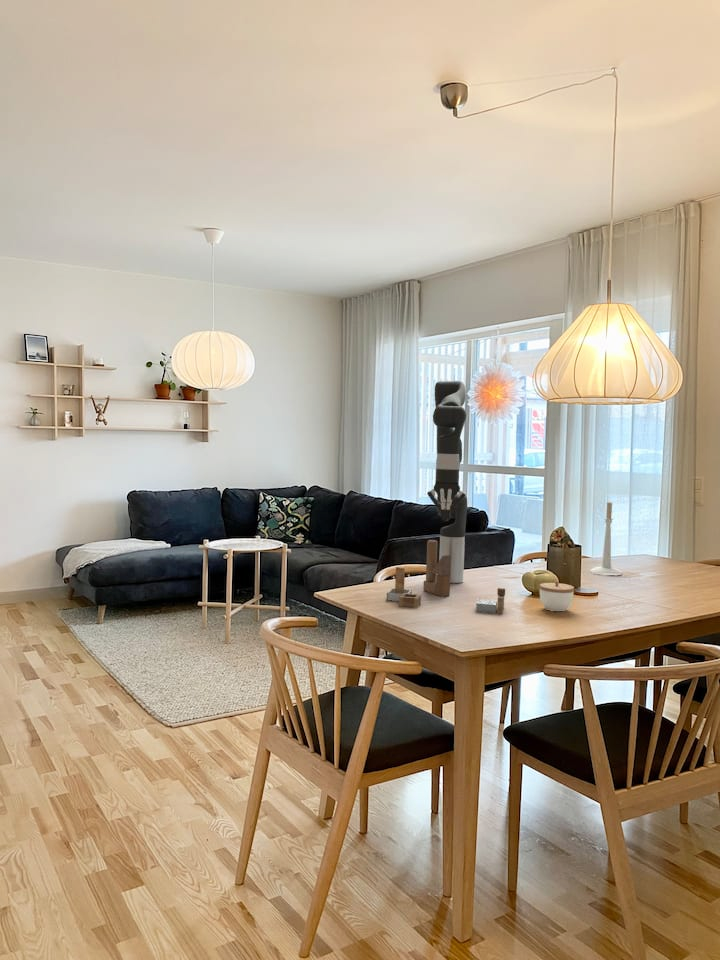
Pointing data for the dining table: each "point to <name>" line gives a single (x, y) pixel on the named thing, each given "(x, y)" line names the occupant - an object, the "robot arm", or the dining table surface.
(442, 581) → the tan angled wooden part
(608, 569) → the candlestick
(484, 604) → the grey rectangular block
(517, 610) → the dining table surface
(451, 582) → the robot arm
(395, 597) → the tray
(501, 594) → the block
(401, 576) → the dowel
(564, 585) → the lidded jar
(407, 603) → the socket block
